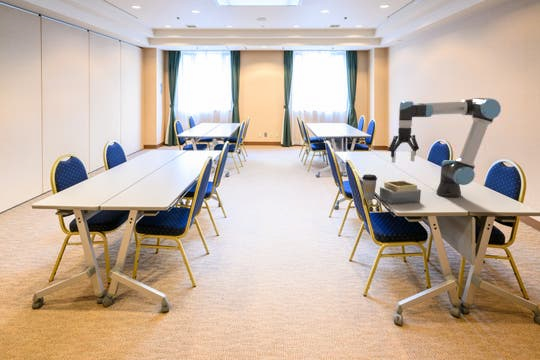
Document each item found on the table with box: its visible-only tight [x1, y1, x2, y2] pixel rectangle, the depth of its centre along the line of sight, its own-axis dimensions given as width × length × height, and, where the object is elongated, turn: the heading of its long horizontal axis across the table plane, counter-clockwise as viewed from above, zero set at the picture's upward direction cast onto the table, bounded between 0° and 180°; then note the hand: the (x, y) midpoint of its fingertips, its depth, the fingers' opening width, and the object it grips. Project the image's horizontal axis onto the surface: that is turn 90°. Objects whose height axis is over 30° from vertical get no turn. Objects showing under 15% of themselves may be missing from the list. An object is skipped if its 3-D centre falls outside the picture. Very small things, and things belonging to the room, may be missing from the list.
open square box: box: [378, 180, 422, 206], centre depth 272 cm, size 20×14×11 cm
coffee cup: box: [361, 174, 378, 201], centre depth 276 cm, size 9×9×15 cm
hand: (402, 161), depth 268 cm, fingers open, 13 cm apart
